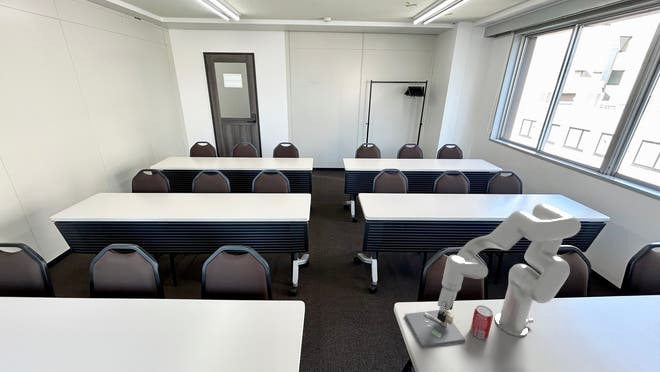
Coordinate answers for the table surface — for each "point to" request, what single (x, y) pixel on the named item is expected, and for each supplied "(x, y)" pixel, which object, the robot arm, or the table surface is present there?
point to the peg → (448, 319)
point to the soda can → (481, 322)
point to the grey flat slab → (433, 330)
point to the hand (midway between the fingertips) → (444, 314)
